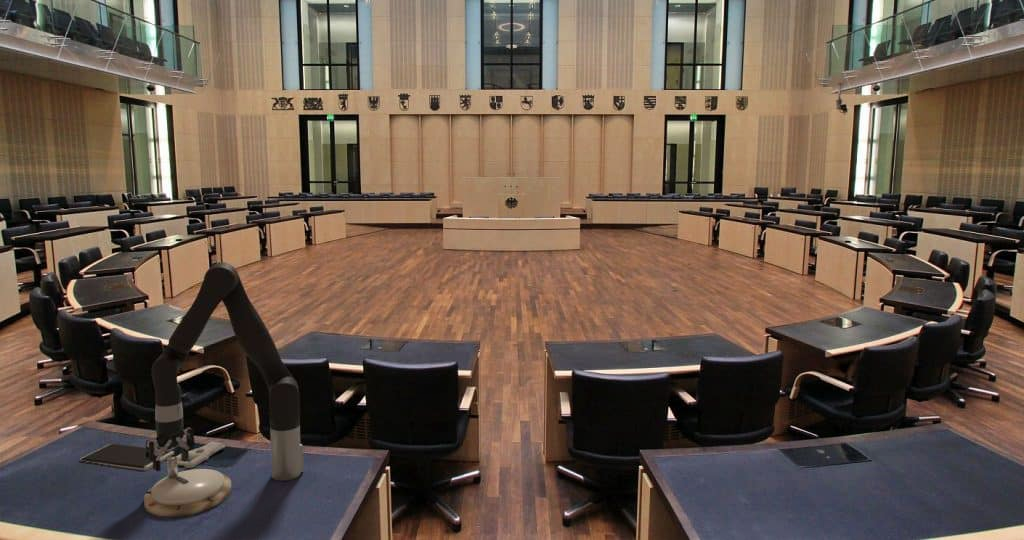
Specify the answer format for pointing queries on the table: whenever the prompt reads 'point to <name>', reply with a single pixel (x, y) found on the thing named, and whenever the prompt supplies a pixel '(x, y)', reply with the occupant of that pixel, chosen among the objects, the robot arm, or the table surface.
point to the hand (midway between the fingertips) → (171, 465)
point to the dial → (186, 485)
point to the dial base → (188, 508)
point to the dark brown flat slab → (124, 457)
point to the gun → (200, 454)
